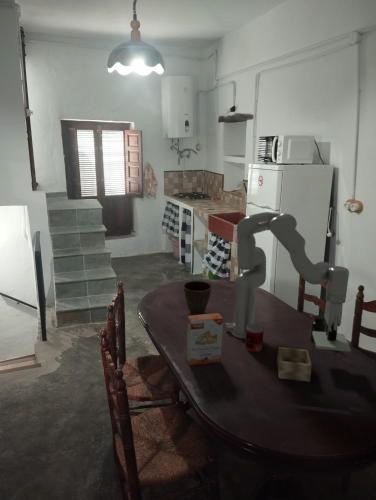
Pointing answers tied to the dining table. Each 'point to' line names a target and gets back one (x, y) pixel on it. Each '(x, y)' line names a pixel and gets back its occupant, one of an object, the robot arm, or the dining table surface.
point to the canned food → (254, 337)
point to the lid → (330, 341)
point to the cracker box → (204, 339)
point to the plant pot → (197, 296)
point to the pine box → (294, 364)
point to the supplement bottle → (317, 325)
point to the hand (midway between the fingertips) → (330, 337)
